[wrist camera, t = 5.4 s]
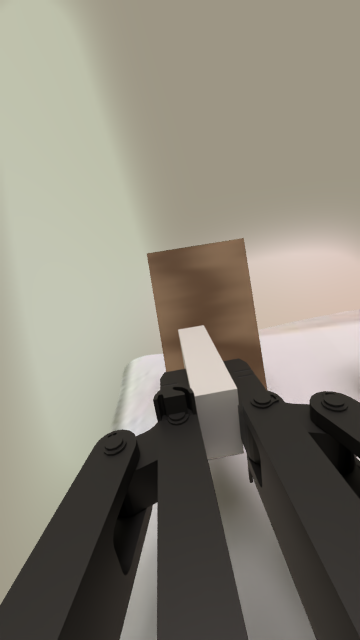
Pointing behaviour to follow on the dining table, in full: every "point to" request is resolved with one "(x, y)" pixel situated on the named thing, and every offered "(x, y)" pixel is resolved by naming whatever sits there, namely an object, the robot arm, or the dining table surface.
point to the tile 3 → (206, 301)
